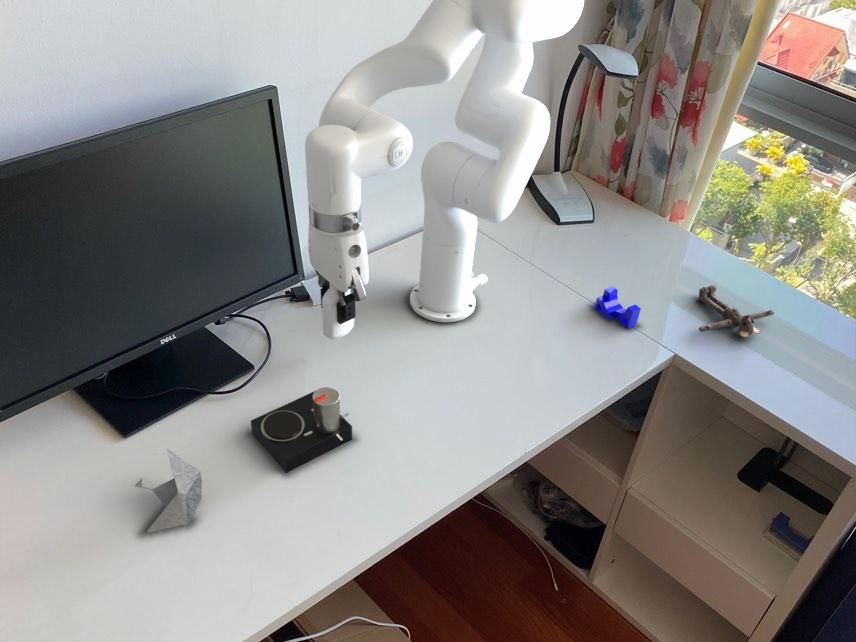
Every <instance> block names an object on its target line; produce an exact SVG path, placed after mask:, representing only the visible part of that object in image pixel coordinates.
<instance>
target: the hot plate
mask: <svg viewBox="0 0 856 642" xmlns="http://www.w3.org/2000/svg"><path fill="white" fill-rule="evenodd" d="M315 391H316V390H314V391H311V392H309V393H307V394H305V395H303V396H301V397H299V398H296V399H295V400H293V401H290V402H288V403H286V404H284V405H282V406H279V407H277V408H275V409H272V410H270V411H269V412H266V413H263V414H262V415H259V416H258V417H256V418H253V419H250V426H251V434H252V436H253V437H254V439H256V440H257V441H258V443H259V444H260V445H261V446H262V447H263V448H264V449H265V451H266V452H267V453H268V454H269V455H270V456H271V457H272V459H274V461H275V462H276V463H277V464H278V465H279V466H280V468H281V469H282V470H283V471H284V472H285V474H288V473H289V472H291V471H293V470H296V469H298V468H299V467H301V466H304V465H305V464H307V463H309V462H311V461H313V460H315V459H317V458H319V457H320V456H322V455H324V454H327V453H328V452H331V451H333V450H334V449H336V448H339V447H341V446H342V445H344V444H346V443H348V442H351V441H352V440H353V425H351V424H350V423H349V422H348V421H347V419H345V417H347V416H350V413H349V412H346V413H344V414H343V415H341V414H340V426H339V428H338V430H336V431H335V432H333V433H329V434H324V433H320V432H318V431H317V430H316V429H315V428H314V419H313V394H314V392H315ZM276 411H291V412H294V413H297V414H298V415H300V416H301V417H302V419H303V420H304V424H305V428H304V431H303V433H302V434H301V435H300V436H299V437H298V438H296V439H294V440H292V441H289V442H275V441H271V440H269V439H267V438H266V437H265V436H264V435H263V433H262V431H261V423H262V421H263V419H264V418H265V417H266V416H268V415H269V414H271V413H273V412H276Z"/></svg>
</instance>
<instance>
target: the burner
mask: <svg viewBox="0 0 856 642" xmlns="http://www.w3.org/2000/svg"><path fill="white" fill-rule="evenodd" d="M304 428H305V424H304V420H303V419H302V417H301V416H300V415H298V414H297V413H294V412H291V411H276V412H273V413H271V414H269V415H268V416H266V417H265V418H264V419H263V421H262V423H261V431H262V433H263V435H264V436H265V437H266V438H267V439H269V440H271V441H275V442H289V441H292V440H294V439H296V438H298V437H299V436H300V435H301V434H302V433H303V431H304Z"/></svg>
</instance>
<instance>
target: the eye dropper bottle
mask: <svg viewBox="0 0 856 642" xmlns="http://www.w3.org/2000/svg"><path fill="white" fill-rule="evenodd" d="M348 294H350V289H348V292H347V293H345V296H346V295H348ZM338 302H339V297H338V290H337V288H336V287H335V286H333V285H332V284H331V283H330V288H329V289H328V290H327V291H326V293H325V294H324V296H323V299H322V308H321V312H322V313H321V315H322V334H323V336H324V337H326V338H328V339H330V340H333V341H334V340H338V339H341V338H343V337H344V336H346V335H348V334H349V333H350V332H351V330H352V329H353V327H354V326H355V318H354V319H351V320H349V321H347V322H345V323H342V324H339V323H338V322H337V303H338Z"/></svg>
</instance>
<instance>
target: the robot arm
mask: <svg viewBox="0 0 856 642" xmlns="http://www.w3.org/2000/svg"><path fill="white" fill-rule="evenodd" d="M584 5H585V0H432V1H431V3H430V4H429V5H428V7H427V8H426V10H425V11H424V13H422V15H421V17H420V18H419V19H418V21H417V22H416V23H415V25H414V27H413V28H412V29H411V31H410V32H409V34H408V35H407V36H406V37H405V38H404V39H403V40H401V41H399V42H397V43H395V44H393V45H389V46H388V47H385V48H383V49H381V50H380V51H378V52H376V53H374V54H373V55H371V56H369V57H367V58H365V59H364V60H362V61H361V62H358V64H356V65H355V66H354V67H352V69H350V70H349V71H348V72H347V73H346V75H344V77H343V78H342V80H341V81H340V83H339V84H338V85H337V86H336V88H335V90H334V91H333V92H332V93H331V95H330V96H329V98H328V100H327V102H326V103H325V105H324V107H323V109H322V112H321V114H320V117H319V120H318V121H319V122H318V126H317V127H315V128H313V129H312V130H311V131H309V132H308V134H307V136H306V137H305V141H304V151H305V167H306V170H305V171H306V182H307V183H306V186H307V201H308V203H307V204H308V218H309V220H308V234H307V235H308V236H307V237H308V238H307V239H308V240H307V241H308V244H307V245H308V257H309V262H310V263H309V264H310V265H311V266H312V268H313V269H314V271H315V273H316V274H317V284H318V286H319V288H320V306H321V307H320V308H321V309H322V299H323V296H324V294H325V293H326V291H327V290H328V289H329V288H330V283H331V284H332V285H333V286H335V287H336V288H337V290H338V297H339V302H338V303H337V322H338V323H339V324H342V323H345V322H347V321H349V320H351V319H354V320H355V319H356V317H357V316H356V315H357V313H356V311H357V310H356V309H357V308H356V302H362V301H363V300H366V299H367V295H366V290H365V288H364V286H365V285H368V284H369V280H370V279H369V275H370V273H369V257H368V255H369V254H368V248H367V240H366V234H365V232H364V228H363V227H362V226H361V225H362V184H361V183H362V180H364V179H367V178H371V177H376V176H381V175H382V176H383V175H386V174H389V173H392V172H394V171H396V170H398V169H399V168H402V166H403V165H405V164H406V162H407V161H408V160H409V158H410V157H411V154H412V151H413V147H414V144H413V143H414V142H413V136H412V133H411V131H410V130H409V129H408V127H407V126H405V125H404V124H403V123H401V122H400V121H398V120H397V119H394V118H393V117H390V116H388V115H385V114H383V113H382V112H379V111H377V110H375V109H373V108H371V107H372V106H373V104H375V103H376V102H377V101H378V100H379V99H381V98H383V97H384V96H386V95H388V94H390V93H392V92H395V91H398V90H403V89H407V88H416V87H417V88H419V87H426V86H427V87H428V86H433V85H435V86H436V85H441V84H444V83H447V82H450V80H452V79H453V77H454V76H455V74H457V72H458V70H459V69H460V68H461V66H462V65H463V63H464V62H465V60H466V59H467V58H468V56H469V55H470V54H471V52H472V50H473V49H474V48H475V46H477V43H478V42H479V41H480V39H481V38H482V37H483V36H484V42H483V46H482V49H481V53H480V55H479V58H478V60H477V61H476V65H475V67H474V69H473V71H472V74H471V76H470V78H469V80H468V82H467V84H466V87H465V90H464V92H463V94H462V95H461V98H460V101H459V103H458V105H457V109H456V113H455V117H454V122H455V126H456V128H457V129H458V130H457V131H459V132H460V133H461V134H462V135H463V136H465V137H467V138H469V139H470V140H472V141H475V142H477V143H479V144H481V145H483V146H486V147H488V148H490V149H492V150H494V151H497V152H499V154H498V156H497V157H498V158H497V159H495V158H493V157H490V156H488V155H485V154H484V153H482V152H480V151H478V150H476V149H473V148H471V147H469V146H466V145H464V144H461V143H458V142H452V141H442V142H441V141H440V142H438V143H436V144H434V145H433V146H432V147H431V148H429V150H428V151H427V152H426V154H425V155H424V158H423V160H422V165H421V168H420V169H421V170H420V180H421V189H422V195H423V226H422V227H423V228H422V237H421V238H422V239H421V240H422V241H421V253H420V264H419V265H420V267H419V282H418V284H417V285H416V286H415V287H413V288H412V290H411V292H410V293H409V304H410V307H411V308H412V310H413V311H414V313H416V314H417V315H418V316H420V317H421V318H424V319H425V320H429V321H433V322H436V323H437V322H438V323H454V322H459V321H462V320H465V319H466V318H469V316H471V315H472V314H473V312H474V311H475V308H476V303H477V300H476V296H475V294H474V293H473V291H475V290H476V289H477V287H480V286H482V285H485V284H487V283H488V276H487V275H486V274H485V273H480V274H479V275H476V276H475V277H474V272H473V271H472V270H473V262H474V254H475V245H476V240H477V233H478V232H477V231H478V219H480V220H482V221H485V222H488V223H492V224H493V223H495V224H497V223H501V222H503V221H505V220H506V219H507V218H509V216H510V215H511V214H512V212H513V211H514V210H515V208H516V206H517V205H518V202H519V200H520V198H521V196H522V195H523V192H524V190H525V188H526V186H527V184H528V182H529V180H530V178H531V176H532V174H533V172H534V169H535V168H536V165H537V164H538V161H539V159H540V157H541V154H542V152H543V151H544V148H545V146H546V143H547V140H548V137H549V134H550V128H551V116H550V112H549V110H548V108H547V107H546V105H545V104H543V103H542V102H541V101H539V100H538V99H536V98H534V97H531V96H530V95H529V96H528V95H526V94H524V93H522V92H523V90H524V87H525V84H526V82H527V79H528V77H529V74H530V73H531V70H532V67H533V63H534V48H533V43H536V42H541V41H545V40H551V39H556V38H558V37H559V38H560V37H562V36H564V35H565V34H567V33H568V32H569V31H571V30H572V28H574V26H575V25H576V24H577V23H578V21H579V19H580V17H581V15H582V13H583V9H584ZM348 289H350V294H348V295H346V296H345V293H347V292H348Z"/></svg>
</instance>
